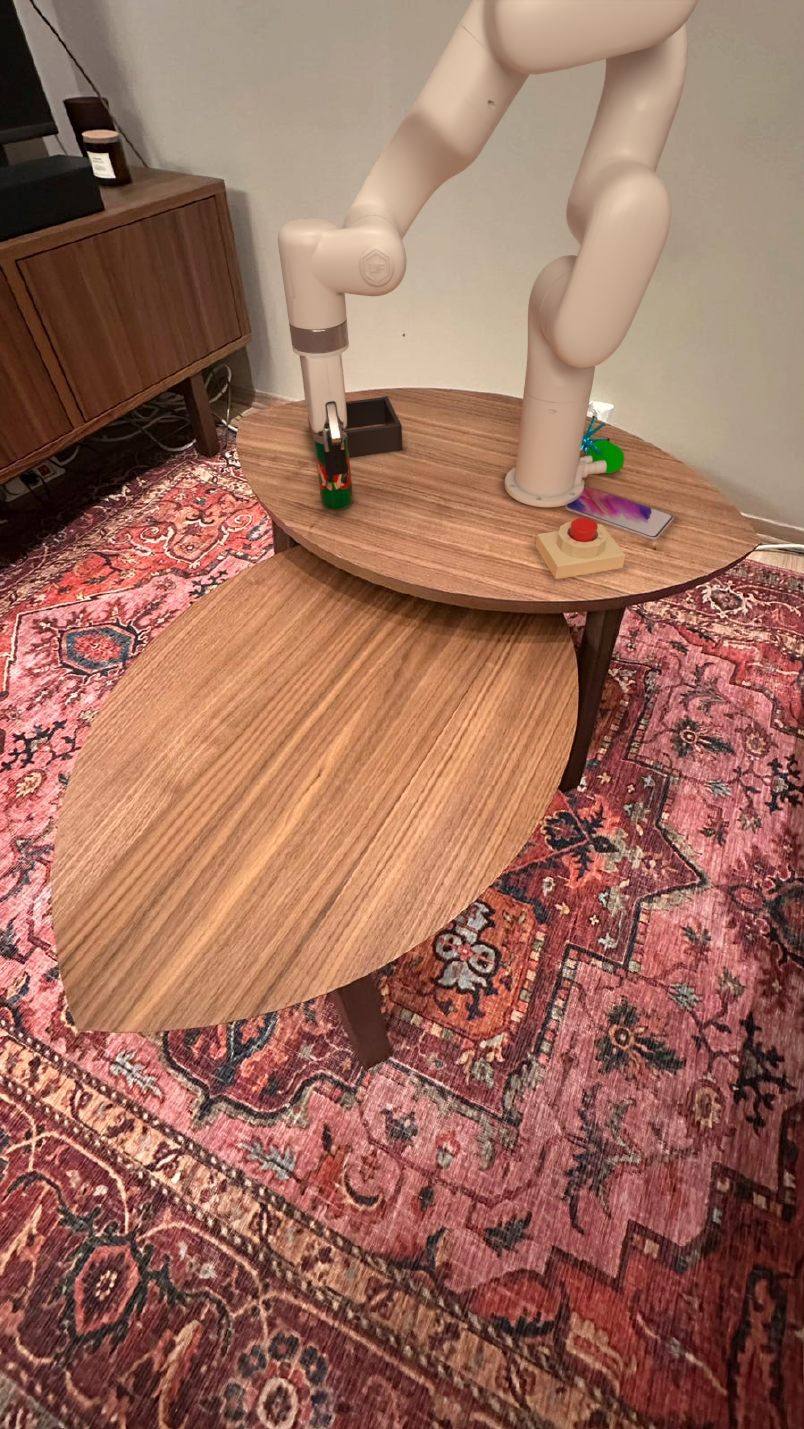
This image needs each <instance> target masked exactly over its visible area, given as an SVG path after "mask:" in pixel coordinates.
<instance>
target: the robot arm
mask: <svg viewBox="0 0 804 1429" xmlns="http://www.w3.org/2000/svg"><path fill="white" fill-rule="evenodd" d="M699 1H700V0H471V1H470V2H469V5H468V7H467V9H466V10H465V12H464V14H463V16H462V17H461V19H460V21H459V23H458V25H457V27H456V28H455V29H454V32H453V34H452V35H451V37H450V39H449V41H448V43H447V44H446V47H445V48H444V50H443V52H442V54H441V55H440V57H439V59H438V60H437V62H436V64H435V66H434V68H433V69H432V71H431V73H430V74H429V76H428V77H427V80H426V82H425V83H424V85H423V86H422V88H421V90H420V92H419V94H418V95H417V97H416V98H415V100H414V102H413V104H412V105H411V107H410V109H408V111H407V113H406V114H405V115H404V117H403V118H402V120H401V121H400V123H399V125H398V126H397V129H396V130H395V132H394V133H393V135H392V136H391V138H390V140H389V141H388V142H387V144H386V145H385V147H384V148H383V150H382V151H381V153H380V155H379V156H378V158H377V160H376V161H375V163H374V164H373V166H372V168H371V170H370V171H369V173H368V175H367V176H366V179H365V180H364V182H363V183H362V186H361V187H360V189H359V191H358V193H357V194H356V196H355V198H354V199H353V202H352V204H351V206H350V208H349V209H348V211H347V213H346V216H345V217H344V220H343V222H342V226H341V228H338V227H337V226H336V224H335V223H334V222H332V221H330V220H328V219H325V218H319V217H303V218H297V219H293V220H289V221H288V222H286V223H284V224H283V225H282V226H281V227H280V228H279V231H278V233H277V244H278V254H279V260H280V267H281V275H282V281H283V282H282V283H283V290H284V296H285V303H286V311H287V318H288V326H289V333H290V340H291V348H292V351H293V352H294V353H295V354H296V355H298V356H299V358H300V357H301V362H300V369H302V370H301V376H302V384H303V394H304V404H305V409H306V410H305V411H306V414H308V415H307V418H308V417H309V421H310V424H311V427H312V430H313V431H314V432H315V433H318V432H319V431H322V433H323V440H324V447H325V449H323V455H324V463H325V472H326V475H327V476H333V475H340V474H346V473H347V461H346V451H345V446H344V441H343V433H342V428H343V429H344V430H346V429H347V428H346V426H347V412H346V402H347V401H346V387H345V378H344V376H345V375H344V367H343V366H344V365H343V359H342V358H343V356H342V353H344V352H345V351H347V350H348V348H349V346H350V342H349V329H348V328H349V327H348V317H347V303H346V294H349V295H355V296H356V295H357V296H365V297H381V296H384V295H385V296H386V295H388V294H390V293H392V292H393V291H394V290H396V289H397V288H398V287H399V285H400V284H401V283H402V281H403V279H404V277H405V274H406V271H407V262H408V261H407V252H406V248H405V245H404V243H403V239H404V238H405V236H406V235H407V233H408V231H409V229H410V228H411V226H412V225H413V223H414V221H415V219H416V218H417V216H418V215H419V214H420V212H421V211H422V209H423V208H424V206H425V205H426V203H427V202H428V201H429V199H430V198H432V195H434V193H435V192H436V191H437V190H438V189H439V188H440V187H441V186H442V185H443V184H444V183H445V182H448V180H450V179H452V178H454V177H455V176H457V175H459V174H461V173H463V172H464V171H465V170H467V169H468V168H469V167H470V166H471V165H472V164H473V163H474V162H475V161H476V160H477V159H478V157H479V155H480V154H481V153H482V151H483V149H484V148H485V146H486V144H487V142H488V141H489V140H490V138H491V136H492V135H493V134H494V132H495V130H496V128H497V127H498V125H499V123H500V122H501V120H502V119H503V118H504V115H505V114H506V112H507V111H508V109H509V107H510V106H511V104H512V103H513V102H514V100H515V98H516V97H517V95H518V94H519V92H520V91H521V89H522V87H523V86H524V85H525V83H526V81H527V80H528V78H529V77H530V75H542V74H549V73H553V72H559V71H563V70H568V69H572V68H578V67H581V66H585V65H588V64H589V65H590V64H593V63H596V62H599V61H604V60H605V72H604V73H605V74H604V81H603V86H602V90H601V95H600V99H599V102H598V106H597V109H596V113H595V117H594V121H593V124H592V127H591V129H590V132H589V135H588V139H587V142H586V144H585V148H584V151H583V153H582V157H581V160H580V163H579V166H578V168H577V172H576V175H575V178H574V179H573V180H574V181H573V184H572V186H571V189H570V192H569V195H568V199H567V203H566V210H565V219H566V223H567V227H568V229H569V231H570V234H571V235H572V237H573V238H574V240H576V242H577V243H578V244H579V245H580V246H579V249H578V252H577V255H574V254H569V255H567V254H566V255H562V256H559V257H556V258H554V259H553V260H551V261H550V262H549V263H547V264H546V265H545V266H544V267H543V268H542V269H541V271H540V272H538V275H537V277H536V278H535V280H534V282H533V285H532V288H531V291H530V294H529V299H528V308H527V350H526V351H527V352H526V367H525V377H524V386H523V395H522V406H521V415H520V422H519V434H518V445H517V453H516V464H515V466H514V467H513V468H511V469H510V470H509V471H508V472H507V473H506V475H505V478H504V484H503V485H504V489H505V491H506V493H507V494H508V496H510V497H511V498H512V499H514V500H515V501H517V502H518V503H521V504H524V505H527V506H530V507H531V506H532V507H536V508H560V507H563V506H566V505H567V504H569V503H571V502H573V501H575V500H576V499H578V498H579V497H580V496H581V494H582V493H583V490H584V488H585V484H586V483H585V478H588V476H589V475H599V474H606V473H605V472H606V469H607V464H606V462H605V460H601V461H594V462H592V456H586V455H585V456H581V452H582V450H581V445H582V440H583V434H584V435H585V429H586V422H587V416H588V411H589V405H590V400H591V394H592V390H593V384H594V378H595V370H596V366H599V365H601V364H603V363H604V362H605V361H607V360H608V359H609V358H610V357H611V356H612V355H613V354H615V352H616V351H617V350H618V348H619V347H620V346H621V345H622V343H623V341H624V340H625V338H626V336H627V334H628V332H629V330H630V328H631V326H632V324H633V322H634V319H635V316H636V314H637V312H638V310H639V307H640V305H641V303H642V300H643V298H644V296H645V293H646V291H647V289H648V287H649V283H650V282H651V280H652V277H653V275H654V273H655V270H656V267H657V266H658V263H659V261H660V258H661V255H662V253H663V251H664V248H665V247H666V246H665V245H666V242H667V240H668V235H669V231H670V227H671V223H672V222H671V221H672V200H671V195H670V192H669V189H668V187H667V185H666V183H665V182H664V180H663V178H661V176H660V175H659V174H658V173H657V168H658V167H659V166H658V165H659V163H660V161H661V158H662V154H663V152H664V148H665V145H666V144H667V140H668V137H669V134H670V131H671V129H672V125H673V122H674V120H675V117H676V115H677V111H678V108H679V105H680V101H681V98H682V94H683V90H684V85H685V80H686V74H687V67H688V53H689V52H688V49H689V48H688V46H689V44H688V43H689V42H688V28H687V21H688V20H689V19H690V17H691V16H692V14H693V13H694V11H695V9H696V7H697V5H698V2H699ZM328 423H329V427H325V424H328ZM327 433H330V437H329V438H327ZM580 451H581V452H580Z"/></svg>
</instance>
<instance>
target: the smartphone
mask: <svg viewBox="0 0 804 1429" xmlns="http://www.w3.org/2000/svg"><path fill="white" fill-rule="evenodd" d="M565 510H567V511H569V512H571V513H575V514H579V515H581V516H583V517H585V518H588V519H591V520H594V521H597V522H601V523H602V524H607V525H609V526H612V527H615V528H618V529H620V530H624V531H626V532H630V533H633V534H635V535H638V536H641V537H643V538H647V539H649V540H657V539H659V538H660V537H661V535H662V534H663V533H664V532H665V530H666V529H667V528H668V527H669V526H670V525H671V523H672V522H673V521H674V519H675V516H674V515H673V514H671V513H668V512H665V511H663V510H660V509H656V508H653V507H650V506H647V505H645V504H641V503H638V502H636V501H632V500H629V499H626V498H623V497H620V496H617V495H615V494H611V493H608V492H606V491H602V490H600V489H596V488H593V487H590V486H584V490H583V493H582V494H581V496H580V497H579V498H578V499H576V500H575V501H573V502H571V503H569V504H567V505H565Z"/></svg>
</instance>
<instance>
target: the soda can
mask: <svg viewBox="0 0 804 1429" xmlns="http://www.w3.org/2000/svg"><path fill="white" fill-rule="evenodd" d="M325 427H329V423H328V424H325ZM345 431H346V430H345V429H343V428H342V433H343V441H344V446H345V451H346V461H347V473H346V474H340V475H333V476H327V475H326V472H325V463H324V455H323V449H325V447H324V440H323V433H322V431H319V432H318V433H315V435H314V436H313V441H312V443H313V442H314V444H313V448H314V458H315V464H316V472H317V480H318V487H319V496H320V503H321V505H322V506H323V507H324V508H326V509H327V510H330V511H336V512H337V511H343V510H346V509H347V508H349V507H350V506H351V505H352V503H353V501H354V495H353V484H352V471H351V461H350V457H349V448H348V437H347V434H346V433H345ZM329 437H330V433H327V438H329Z"/></svg>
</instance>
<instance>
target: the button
mask: <svg viewBox="0 0 804 1429" xmlns="http://www.w3.org/2000/svg"><path fill="white" fill-rule="evenodd" d="M571 521H572V523H571V527H570V532H569V536H570V538H571V539H573V540H575V541H579V542H590V541H593V540H594V539H595V537H596V533H597V528H598V525H597V524H598V523H597V522H596V520H594V519H592V518H589V517H579V518H574V520H571Z"/></svg>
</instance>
